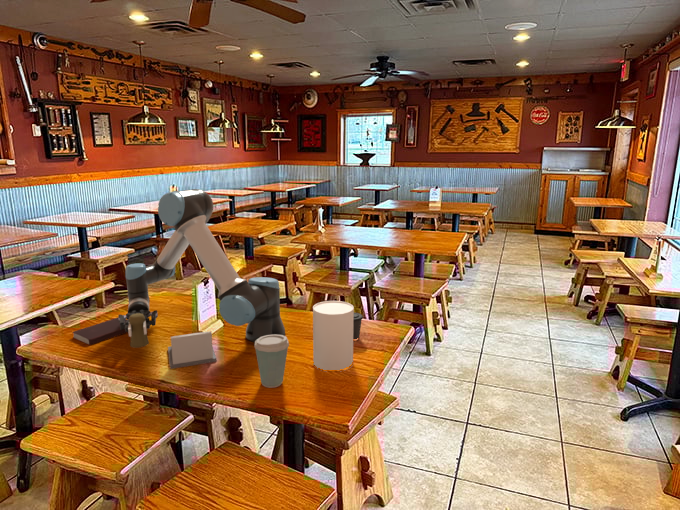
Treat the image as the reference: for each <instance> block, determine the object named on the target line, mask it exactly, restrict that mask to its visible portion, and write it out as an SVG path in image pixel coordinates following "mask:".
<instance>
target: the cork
mask: <svg viewBox="0 0 680 510" xmlns="http://www.w3.org/2000/svg"><path fill="white" fill-rule="evenodd" d="M144 321H145V316H144V315H143V314H141V313H136V314H132V315H131V316H130V317H129V323H130V324H131V329H132V335H131V337H130V345H129V346H130V347H131V348H143V347H146V346H147V345H149V343H150V342H149V338H148V334H145V335H144V328H143V323H144Z"/></svg>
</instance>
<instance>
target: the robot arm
mask: <svg viewBox="0 0 680 510" xmlns="http://www.w3.org/2000/svg"><path fill="white" fill-rule="evenodd" d="M157 204H158V205H157V206H158V207H157V215H158V216H159V219H160V221H161V222H162V223H163V224H164V225H165V226H166V225H167V227H168V226H169V227H172V228H173V229H174V231H173V233H172V235H170V238H169V239H168V240H167V243H166V244H165V246H164V247H163V249H162V250H161V252H160V254H159V255H158V257H157V259H156V260H155V261H154V263H152V264H149V265H146V264H145V263H140V262H139V263H138V262H137V263H131V264H128V265H126V266H125V271H124V272H125V280H126V281H125V282H126V287H127V297H128V298H127V299H128V307H127V313H126V314H125V315H124V314H118V317H119V322H120V329H121V330H124V328H125V331H126V332H127V333H128V337H130V338H131V335H132V329H131V324H130V323H129V317H130V316H131V315H132V314H136V313H141V314H143V315H144V316H145V321H144V323H143V328H144V335H145V334H147V333H148V330H149V329H151V326H152V327H154V326H156V325H157V324H156V323H157V318H158V317H159V315H158V309H157V310H155V309H154V310H153V311H150V302H151V301H150V295H149V285H152V284H154V283H158V282H161V281H163V280H167V279H169V278H171V277H173V276H174V275H175V273H176V264H177V263H178V262H179V261H180V258H181V257H182V255H183V254H184V252H185V251H186V249H187V248H189V246H190V247H191V249H192V250H193V252H194V254H195V255H196V256H197V258H198V260H199V261H200V263H201V265H202V266H203V268H204V269H205V270H206V272H207V274H208V276H209V277H210V278H211V280H212V281H213V284H214V285H215V286H216V288H217V289H218V295H217V298H218V300H219V306H218V307H219V310H218V311H219V314H220V316H221V317H222V318H223V320H224V321H226V323H228V324H230V325H232V326H233V325H234V326H235V327H239V326H244V325H246V324H247V326H246V329H245V338H246V340H248V341H249V342H253V343H255V341H256V340H257V339H258V338H260V337H262V336H266V335H274V334H276V335H283V336H286V329H285V325H284V323H283V320H282V318H281V304H280V303H281V302H280V301H281V300H280V299H281V298H280V297H281V295H280V294H281V293H280V289H281V288H280V282H279V281H278V279H276V278H272V277H266V276H265V277H263V276H261V277H260V276H258V277H257V276H256V277H251V278H249V279H248V280H247V279H246V278H241V277H240V276H239V274H238V272H237V271H236V269H235V267H234V266H233V265H232V263H231V261H230V260H229V258H228V257H227V254H225V252H224V251H223V249H222V247H221V246H220V244H219V243H218V241H217V240H216V238H215V236H214V235H213V233H212V232H211V230H210V228H209V227H208V225H207V223H208V222H209V221H210V218H211V217H212V215H213V212H214V201H213V199H212V196H211V195H210V194H208V193H207V192H206V191H204V190H203V189H198V188H194V189H193V188H192V189H186V190H173V191H170V192H166V193H165V194H163V195H162V196H161V197H160V199H159V202H158V203H157ZM118 317H117V318H118ZM150 317H151V319H150ZM126 319H127V321H126V323H124V322H125V320H126ZM147 335H148V334H147Z"/></svg>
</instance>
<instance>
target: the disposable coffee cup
mask: <svg viewBox="0 0 680 510" xmlns="http://www.w3.org/2000/svg"><path fill="white" fill-rule="evenodd" d="M253 345H254V349H255V354H256V360H257V365H258V370H259V371H258V372H259V376H260V377H259V378H260V382H261V384H262V385H261V386H263V387H265V388H270V389H271V388H277V387H280V386H281V385H282V384H283V382H284V378H285V377H284V375H285V369H286V362H287V357H288V356H287V355H288V350H289V349H288V348H289V346H290V343H289V339H288V337H287V336H286V335H285V336H283V335H276V334H274V335H266V336H262V337H260V338H258V339H257V340H256V341H255V342H254V344H253Z"/></svg>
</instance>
